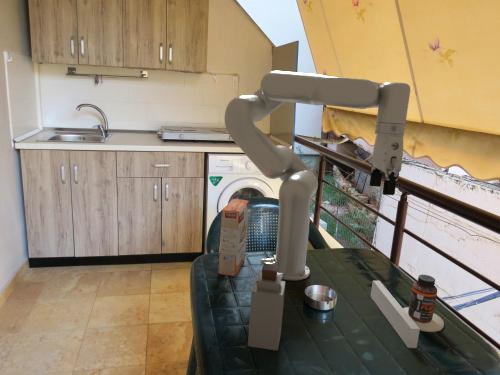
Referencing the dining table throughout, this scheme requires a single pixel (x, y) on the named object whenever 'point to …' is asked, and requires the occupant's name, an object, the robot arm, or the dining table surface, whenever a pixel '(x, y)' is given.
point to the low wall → (395, 314)
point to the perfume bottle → (266, 309)
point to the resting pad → (429, 323)
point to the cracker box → (233, 236)
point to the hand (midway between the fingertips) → (381, 190)
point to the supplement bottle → (423, 299)
